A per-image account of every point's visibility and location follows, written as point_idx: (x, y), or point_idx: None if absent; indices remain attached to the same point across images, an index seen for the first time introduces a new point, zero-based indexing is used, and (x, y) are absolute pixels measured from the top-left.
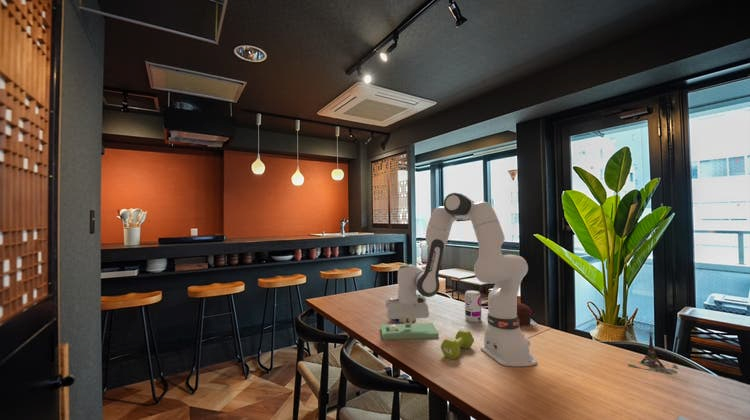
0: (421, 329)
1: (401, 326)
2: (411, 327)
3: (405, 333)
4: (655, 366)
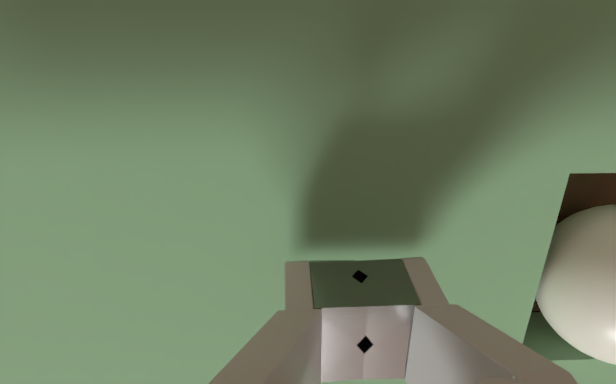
0: (63, 235)
1: None
2: None
3: (457, 21)
4: None
